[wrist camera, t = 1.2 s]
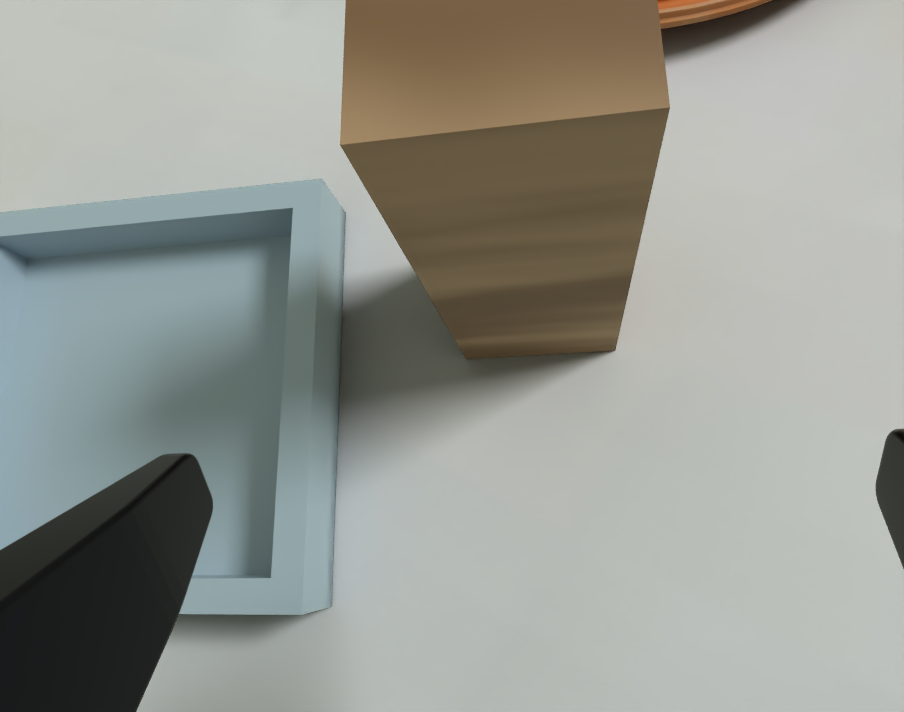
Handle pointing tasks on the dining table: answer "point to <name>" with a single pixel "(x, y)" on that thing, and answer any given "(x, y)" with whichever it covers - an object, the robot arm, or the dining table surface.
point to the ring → (700, 10)
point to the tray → (183, 373)
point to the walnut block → (510, 157)
